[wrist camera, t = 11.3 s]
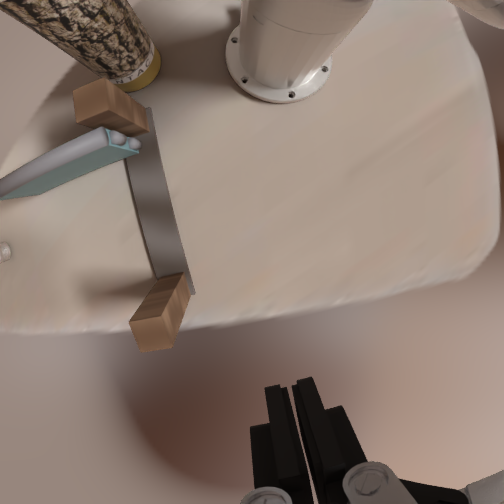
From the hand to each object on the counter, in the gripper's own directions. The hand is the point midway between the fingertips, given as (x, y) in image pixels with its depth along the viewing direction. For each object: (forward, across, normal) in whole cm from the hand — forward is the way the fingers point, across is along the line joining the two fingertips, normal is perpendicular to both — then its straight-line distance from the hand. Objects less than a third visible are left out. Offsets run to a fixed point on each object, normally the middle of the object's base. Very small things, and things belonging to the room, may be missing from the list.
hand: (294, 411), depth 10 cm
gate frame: (+27, +10, -8) cm, 30 cm away
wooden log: (+27, +9, -25) cm, 38 cm away
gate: (+26, +17, -14) cm, 34 cm away
